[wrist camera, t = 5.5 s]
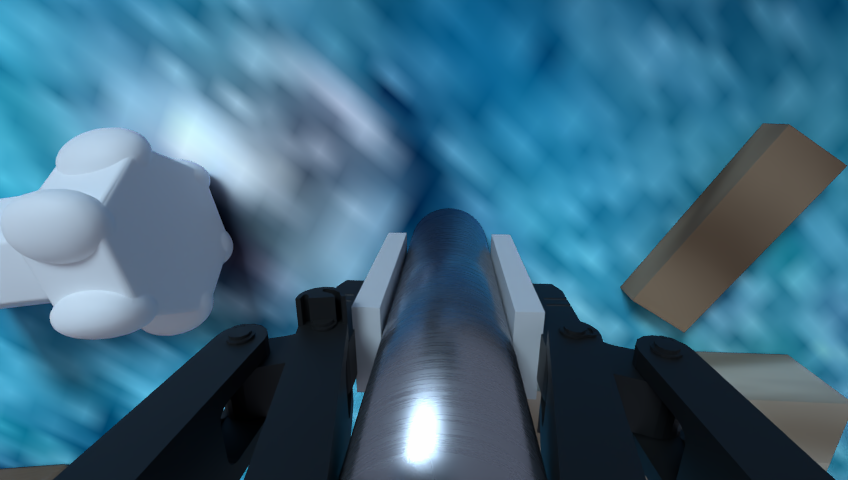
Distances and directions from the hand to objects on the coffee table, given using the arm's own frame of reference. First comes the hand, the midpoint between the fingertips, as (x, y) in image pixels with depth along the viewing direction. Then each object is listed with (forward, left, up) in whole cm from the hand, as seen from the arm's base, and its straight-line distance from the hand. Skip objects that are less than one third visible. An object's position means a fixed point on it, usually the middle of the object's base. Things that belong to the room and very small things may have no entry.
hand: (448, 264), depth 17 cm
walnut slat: (-1, +12, -3) cm, 12 cm away
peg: (0, 0, -3) cm, 3 cm away
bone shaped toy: (0, -18, -3) cm, 18 cm away
